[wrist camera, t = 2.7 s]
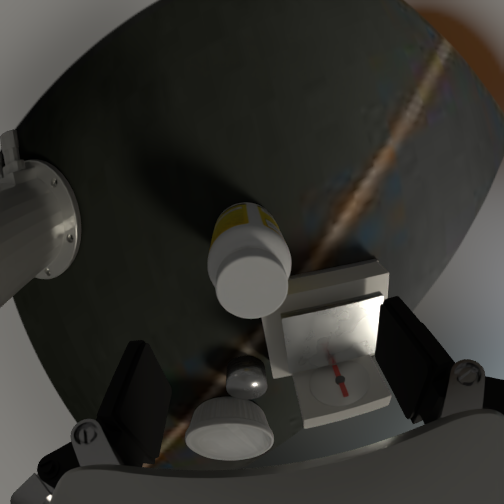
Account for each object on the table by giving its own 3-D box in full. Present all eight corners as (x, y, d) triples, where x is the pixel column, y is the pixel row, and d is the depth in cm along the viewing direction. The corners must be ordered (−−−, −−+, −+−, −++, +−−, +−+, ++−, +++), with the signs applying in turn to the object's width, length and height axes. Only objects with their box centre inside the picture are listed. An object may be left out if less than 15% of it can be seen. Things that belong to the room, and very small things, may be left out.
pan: (278, 306, 23) (281, 318, 21) (374, 285, 23) (383, 295, 21) (286, 360, 26) (289, 373, 24) (370, 340, 25) (377, 351, 24)
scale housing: (254, 282, 26) (264, 357, 17) (376, 258, 26) (431, 313, 16) (269, 360, 30) (280, 433, 20) (371, 336, 29) (407, 398, 20)
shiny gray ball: (222, 358, 29) (221, 377, 27) (261, 352, 29) (264, 371, 27) (231, 383, 31) (231, 401, 28) (267, 377, 31) (269, 396, 28)
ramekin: (286, 404, 33) (291, 435, 28) (243, 438, 37) (244, 466, 32) (211, 379, 31) (208, 413, 26) (177, 418, 34) (172, 447, 29)
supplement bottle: (209, 255, 25) (195, 320, 16) (220, 195, 23) (209, 231, 14) (269, 266, 25) (286, 334, 16) (284, 208, 23) (313, 251, 14)
